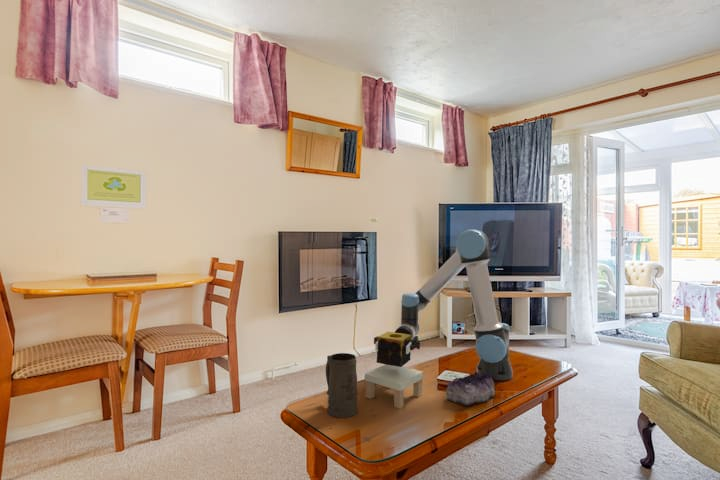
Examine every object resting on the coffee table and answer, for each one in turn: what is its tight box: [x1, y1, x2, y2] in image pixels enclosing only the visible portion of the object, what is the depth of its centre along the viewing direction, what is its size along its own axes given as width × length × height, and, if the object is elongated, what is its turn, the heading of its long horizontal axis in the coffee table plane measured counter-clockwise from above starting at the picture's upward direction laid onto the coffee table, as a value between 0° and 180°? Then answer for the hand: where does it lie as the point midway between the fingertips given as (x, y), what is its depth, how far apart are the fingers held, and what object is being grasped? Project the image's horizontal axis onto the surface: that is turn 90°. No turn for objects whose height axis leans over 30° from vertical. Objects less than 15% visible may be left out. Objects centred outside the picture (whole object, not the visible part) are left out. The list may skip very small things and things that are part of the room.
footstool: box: [364, 364, 424, 410], centre depth 151 cm, size 16×16×9 cm
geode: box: [445, 373, 496, 406], centre depth 149 cm, size 20×12×10 cm, turn 120°
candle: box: [376, 331, 411, 367], centre depth 150 cm, size 10×10×10 cm
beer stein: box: [325, 352, 359, 419], centre depth 139 cm, size 15×10×20 cm
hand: (391, 348), depth 147 cm, fingers closed on candle, 11 cm apart
